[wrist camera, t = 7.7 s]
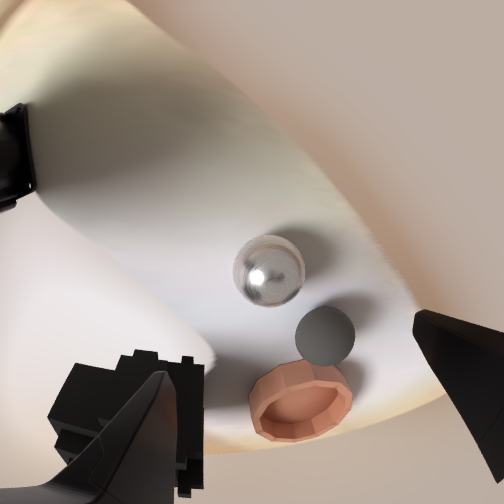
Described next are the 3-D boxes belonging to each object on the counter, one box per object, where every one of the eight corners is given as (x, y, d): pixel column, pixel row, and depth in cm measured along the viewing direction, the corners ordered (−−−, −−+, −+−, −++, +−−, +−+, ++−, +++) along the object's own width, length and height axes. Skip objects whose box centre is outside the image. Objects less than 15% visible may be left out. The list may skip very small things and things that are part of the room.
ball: (286, 303, 19) (301, 338, 15) (341, 290, 19) (366, 320, 15) (292, 348, 20) (305, 385, 17) (342, 335, 20) (362, 368, 17)
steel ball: (225, 234, 17) (227, 257, 13) (291, 221, 17) (311, 240, 13) (238, 293, 18) (242, 328, 15) (298, 280, 18) (317, 311, 15)
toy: (206, 560, 9) (57, 527, 7) (203, 412, 22) (97, 397, 21) (203, 545, 6) (-1, 483, 5) (204, 348, 20) (78, 333, 18)
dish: (241, 372, 21) (244, 395, 18) (343, 348, 21) (354, 368, 19) (257, 428, 23) (261, 449, 21) (340, 409, 24) (348, 427, 21)
